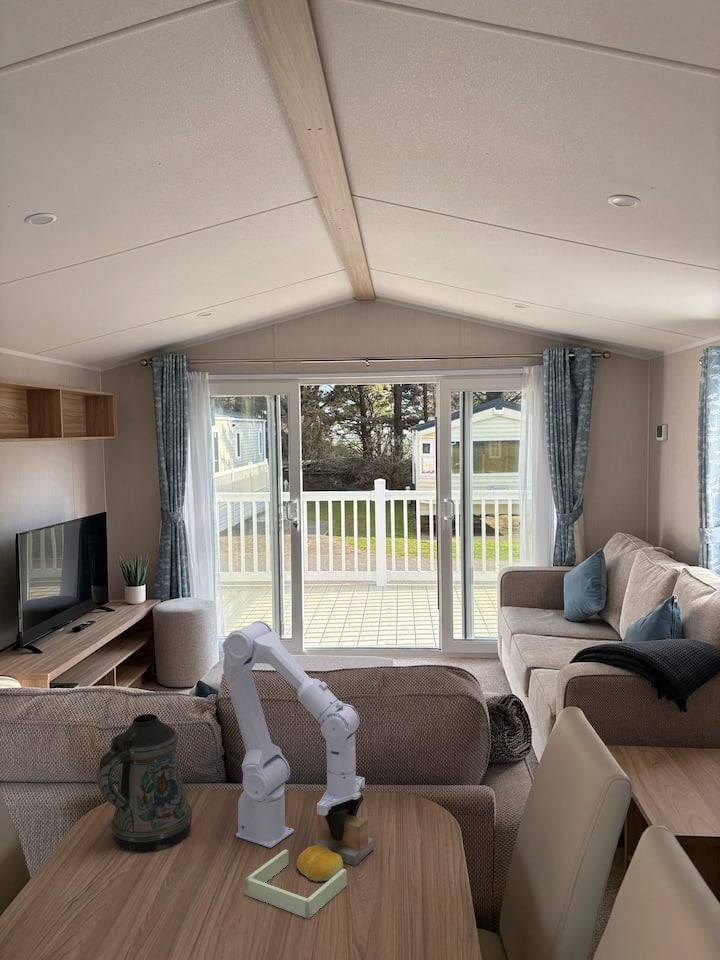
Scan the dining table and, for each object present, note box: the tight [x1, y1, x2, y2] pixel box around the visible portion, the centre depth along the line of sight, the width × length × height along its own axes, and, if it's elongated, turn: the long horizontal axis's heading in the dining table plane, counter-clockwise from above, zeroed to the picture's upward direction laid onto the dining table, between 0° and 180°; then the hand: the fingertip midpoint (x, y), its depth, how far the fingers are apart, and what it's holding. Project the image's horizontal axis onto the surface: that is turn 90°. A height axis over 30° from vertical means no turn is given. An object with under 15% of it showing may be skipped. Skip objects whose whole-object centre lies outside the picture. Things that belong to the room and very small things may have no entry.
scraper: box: [312, 813, 375, 867], centre depth 161 cm, size 10×7×7 cm
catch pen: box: [244, 849, 348, 920], centre depth 148 cm, size 14×12×3 cm
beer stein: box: [96, 713, 193, 854], centre depth 167 cm, size 16×19×25 cm
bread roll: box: [296, 844, 344, 882], centre depth 154 cm, size 8×9×4 cm
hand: (342, 835), depth 161 cm, fingers open, 3 cm apart
